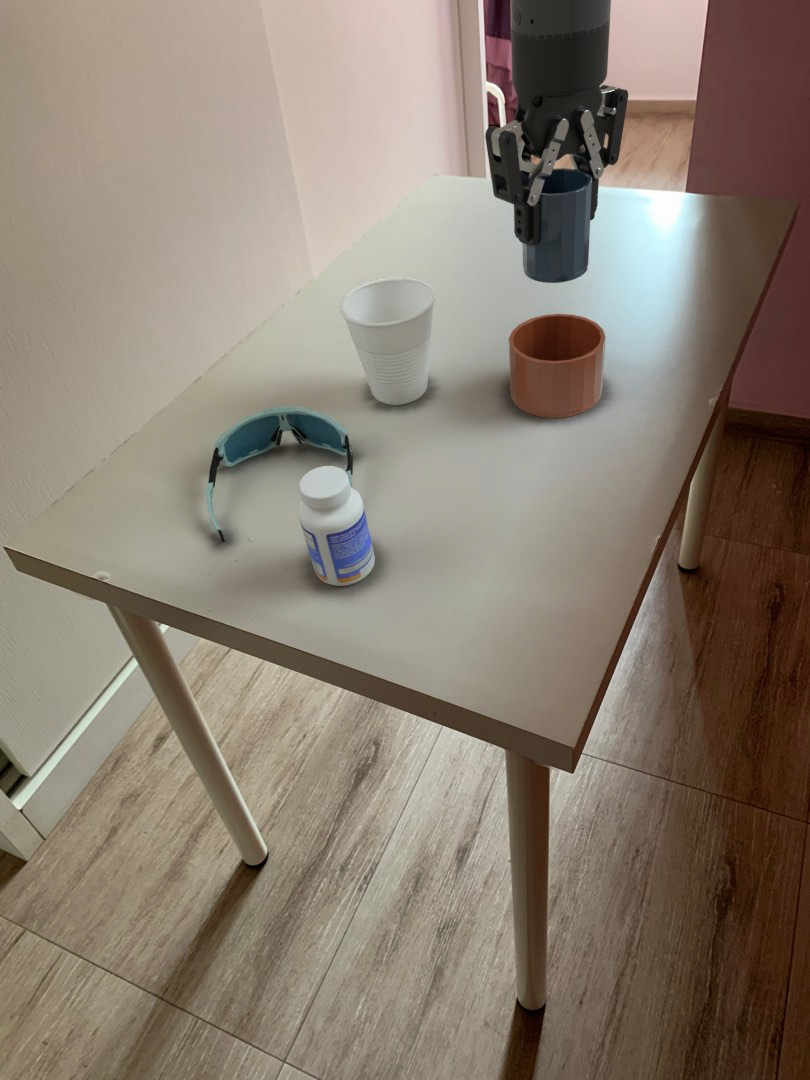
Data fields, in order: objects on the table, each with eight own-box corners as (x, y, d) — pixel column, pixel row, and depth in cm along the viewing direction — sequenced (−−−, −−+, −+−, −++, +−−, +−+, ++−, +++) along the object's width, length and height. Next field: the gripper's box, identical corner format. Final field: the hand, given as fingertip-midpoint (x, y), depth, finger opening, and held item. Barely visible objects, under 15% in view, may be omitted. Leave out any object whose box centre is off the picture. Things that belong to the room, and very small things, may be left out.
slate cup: (601, 266, 75) (606, 178, 70) (553, 289, 73) (554, 201, 68) (557, 247, 79) (558, 163, 74) (510, 269, 77) (507, 183, 71)
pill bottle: (383, 547, 72) (366, 462, 65) (364, 592, 68) (345, 506, 62) (326, 540, 73) (304, 456, 67) (305, 584, 70) (280, 499, 63)
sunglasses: (358, 434, 84) (350, 398, 80) (355, 546, 75) (346, 512, 71) (226, 446, 85) (212, 411, 82) (207, 558, 76) (190, 525, 72)
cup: (461, 377, 90) (453, 285, 82) (414, 426, 84) (402, 332, 77) (387, 359, 95) (373, 270, 87) (338, 405, 89) (319, 314, 81)
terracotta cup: (620, 391, 85) (625, 336, 80) (552, 429, 81) (553, 374, 77) (558, 357, 91) (559, 304, 86) (492, 391, 87) (490, 338, 83)
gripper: (520, 47, 57) (523, 271, 69) (663, 0, 62) (643, 216, 74) (456, 34, 62) (468, 245, 74) (593, -9, 67) (585, 195, 79)
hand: (556, 230), depth 74 cm, fingers closed on slate cup, 6 cm apart
